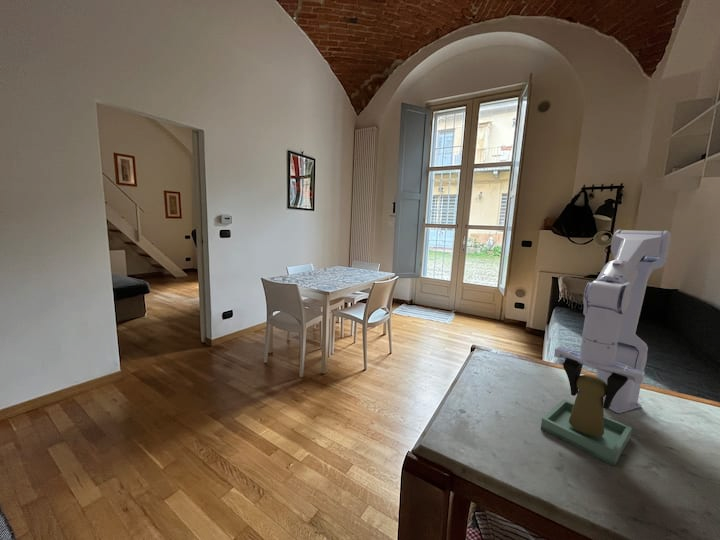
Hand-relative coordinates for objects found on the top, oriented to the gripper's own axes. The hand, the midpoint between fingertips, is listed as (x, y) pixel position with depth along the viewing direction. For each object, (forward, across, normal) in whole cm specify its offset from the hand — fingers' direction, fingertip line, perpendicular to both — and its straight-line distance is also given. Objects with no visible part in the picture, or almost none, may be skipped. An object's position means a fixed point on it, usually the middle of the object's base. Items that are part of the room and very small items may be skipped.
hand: (589, 400), depth 62 cm
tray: (+8, 0, 0) cm, 8 cm away
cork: (+6, 0, -1) cm, 6 cm away
